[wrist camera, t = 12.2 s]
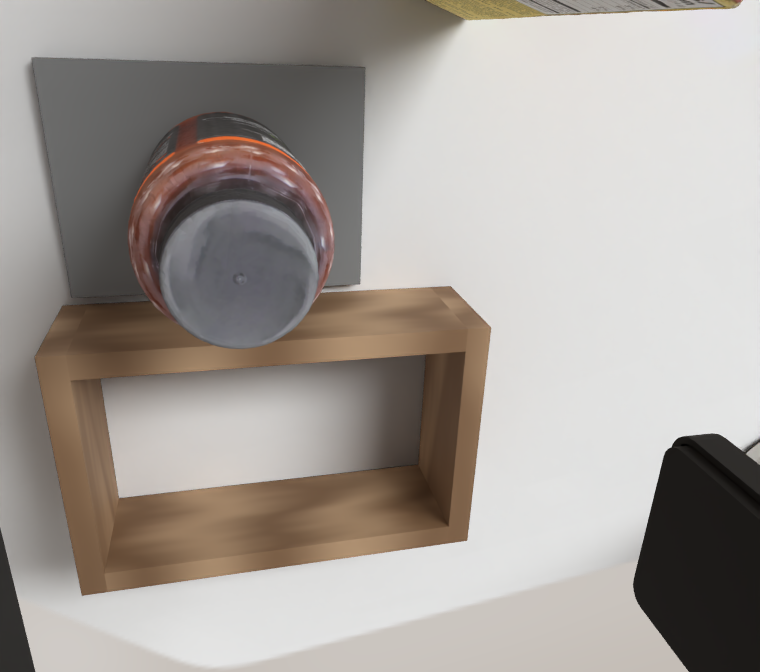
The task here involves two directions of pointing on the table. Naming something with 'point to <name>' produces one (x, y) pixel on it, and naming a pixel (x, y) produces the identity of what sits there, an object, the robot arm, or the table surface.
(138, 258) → the supplement bottle
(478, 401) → the crate
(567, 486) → the table surface
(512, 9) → the candy box
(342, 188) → the mat
